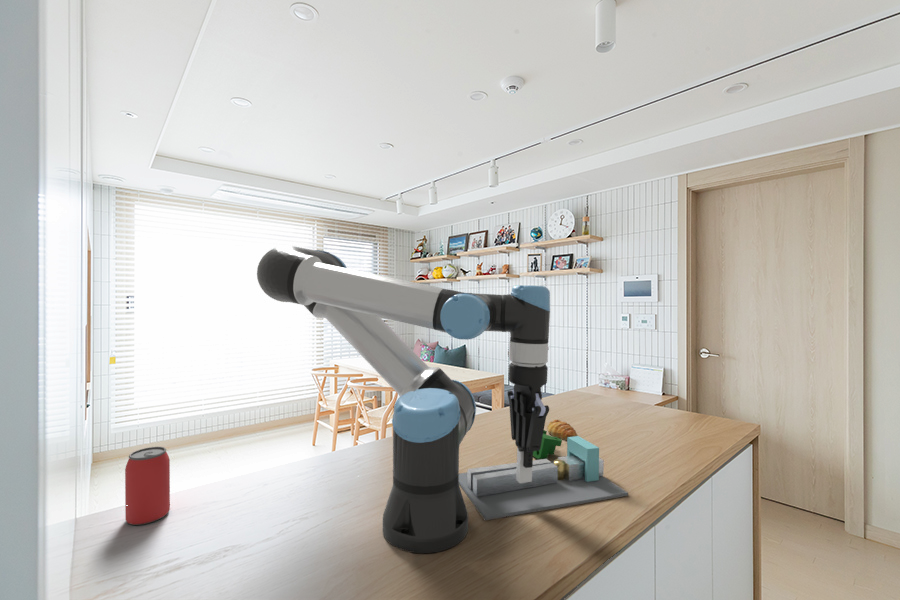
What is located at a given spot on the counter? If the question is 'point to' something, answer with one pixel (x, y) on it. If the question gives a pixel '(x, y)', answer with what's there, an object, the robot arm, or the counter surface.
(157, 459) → the beer can
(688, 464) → the counter surface
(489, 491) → the arm
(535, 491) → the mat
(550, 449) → the clamp
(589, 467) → the collar
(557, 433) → the pastry
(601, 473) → the tongs body
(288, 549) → the counter surface
